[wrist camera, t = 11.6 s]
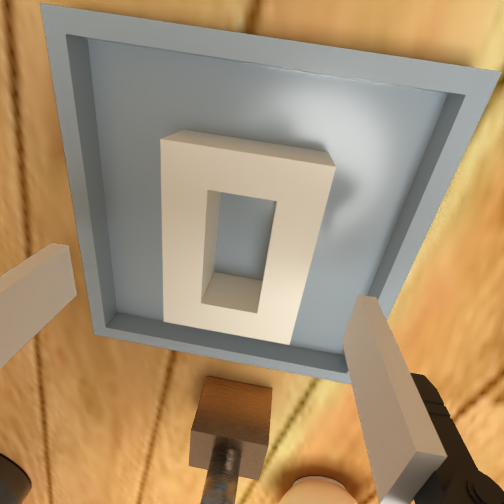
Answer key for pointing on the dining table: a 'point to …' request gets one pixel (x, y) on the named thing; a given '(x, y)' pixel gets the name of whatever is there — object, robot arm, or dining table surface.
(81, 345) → the dining table surface
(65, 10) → the tray
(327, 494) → the lidded jar
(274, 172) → the slotted frame
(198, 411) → the t-stake
